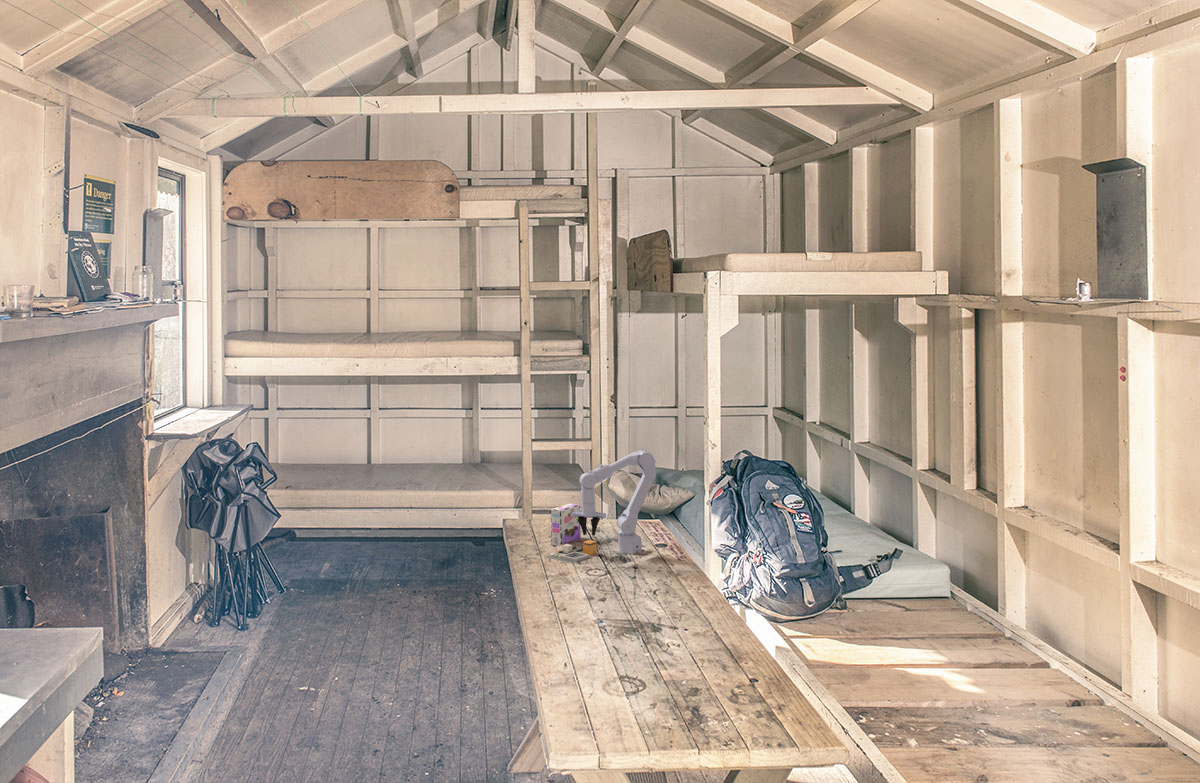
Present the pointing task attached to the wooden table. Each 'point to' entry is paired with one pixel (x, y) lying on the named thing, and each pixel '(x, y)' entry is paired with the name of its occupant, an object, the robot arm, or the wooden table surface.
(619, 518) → the robot arm
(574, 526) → the candy box
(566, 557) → the breaker panel
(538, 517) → the wooden table surface
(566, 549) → the switch
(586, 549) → the cap
